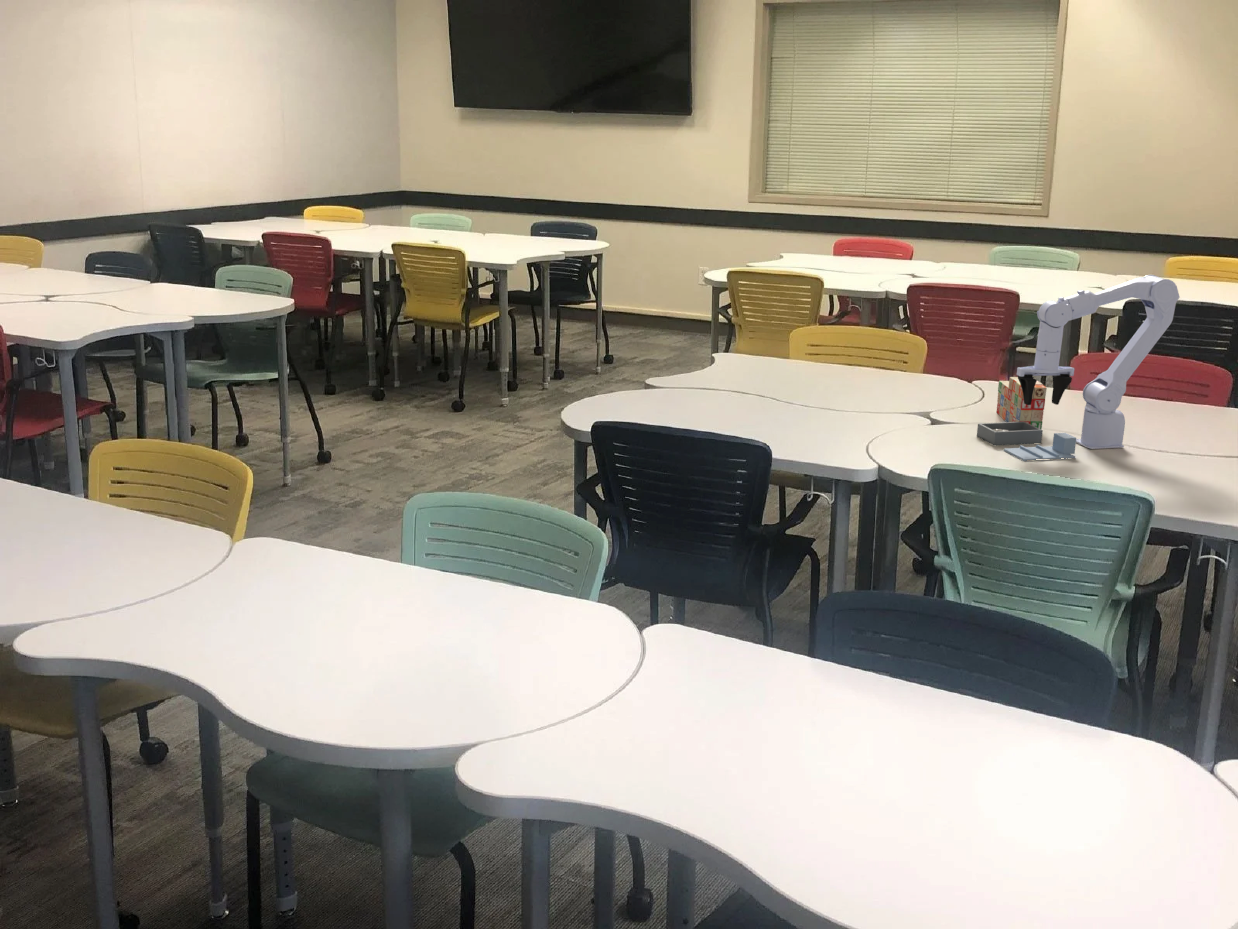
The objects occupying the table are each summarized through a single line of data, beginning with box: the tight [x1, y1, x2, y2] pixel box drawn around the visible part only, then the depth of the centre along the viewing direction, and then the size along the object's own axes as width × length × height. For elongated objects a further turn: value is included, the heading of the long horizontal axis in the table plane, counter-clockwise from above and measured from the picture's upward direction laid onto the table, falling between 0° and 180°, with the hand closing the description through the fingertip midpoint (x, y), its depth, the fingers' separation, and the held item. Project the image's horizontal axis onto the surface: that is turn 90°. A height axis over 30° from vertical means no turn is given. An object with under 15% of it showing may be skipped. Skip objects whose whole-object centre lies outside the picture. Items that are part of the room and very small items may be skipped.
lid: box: [1003, 432, 1077, 462], centre depth 292 cm, size 15×10×5 cm, turn 102°
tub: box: [976, 421, 1044, 447], centre depth 305 cm, size 13×9×4 cm
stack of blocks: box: [996, 376, 1047, 430], centre depth 322 cm, size 21×6×12 cm, turn 178°
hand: (1041, 404), depth 299 cm, fingers open, 7 cm apart
